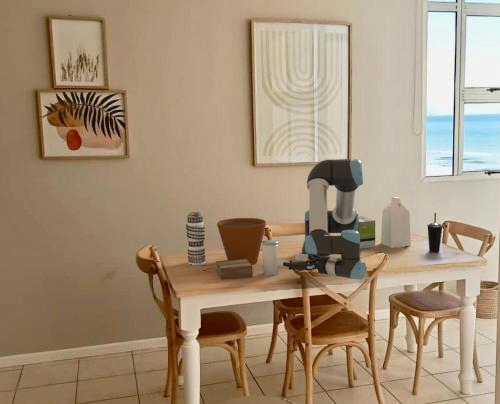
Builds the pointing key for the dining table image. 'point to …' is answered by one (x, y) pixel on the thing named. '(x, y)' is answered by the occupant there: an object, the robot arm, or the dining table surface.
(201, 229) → the striped cylindrical tower
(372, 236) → the tea box
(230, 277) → the pedestal
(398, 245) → the milk
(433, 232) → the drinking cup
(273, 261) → the glass jar
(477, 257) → the dining table surface
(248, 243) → the flower pot
